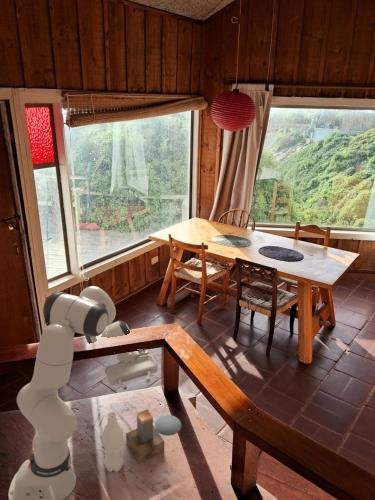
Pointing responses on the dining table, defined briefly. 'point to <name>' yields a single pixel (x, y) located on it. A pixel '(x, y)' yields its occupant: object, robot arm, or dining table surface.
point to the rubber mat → (168, 425)
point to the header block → (144, 445)
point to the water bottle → (113, 443)
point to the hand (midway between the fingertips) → (136, 385)
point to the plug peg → (144, 426)
